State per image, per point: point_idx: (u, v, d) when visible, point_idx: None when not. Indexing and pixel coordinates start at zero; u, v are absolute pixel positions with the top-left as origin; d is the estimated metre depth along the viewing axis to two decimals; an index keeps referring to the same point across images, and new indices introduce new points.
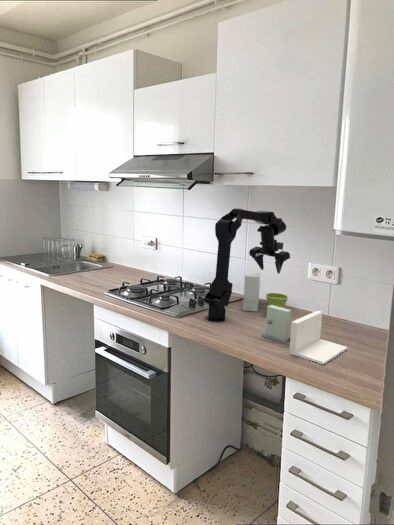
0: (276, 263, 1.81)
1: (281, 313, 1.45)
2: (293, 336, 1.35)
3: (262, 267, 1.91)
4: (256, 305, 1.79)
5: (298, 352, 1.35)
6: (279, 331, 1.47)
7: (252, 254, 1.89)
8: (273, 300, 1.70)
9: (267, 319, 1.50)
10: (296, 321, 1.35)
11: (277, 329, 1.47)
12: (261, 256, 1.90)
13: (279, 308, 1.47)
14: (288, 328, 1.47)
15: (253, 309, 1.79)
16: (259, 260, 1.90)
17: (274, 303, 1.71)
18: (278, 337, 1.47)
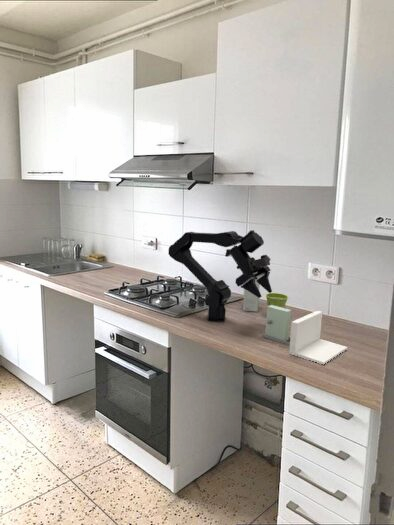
0: None
1: (281, 313, 1.45)
2: (293, 336, 1.35)
3: (268, 289, 1.58)
4: (256, 305, 1.79)
5: (298, 352, 1.35)
6: (279, 331, 1.47)
7: None
8: (273, 300, 1.70)
9: (267, 319, 1.50)
10: (296, 321, 1.35)
11: (277, 329, 1.47)
12: (263, 277, 1.59)
13: (279, 308, 1.47)
14: (288, 328, 1.47)
15: (253, 309, 1.79)
16: (261, 283, 1.60)
17: (274, 303, 1.71)
18: (278, 337, 1.47)
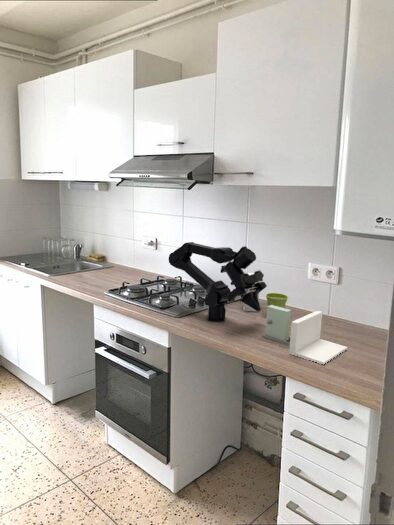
0: None
1: (281, 313, 1.45)
2: (293, 336, 1.35)
3: None
4: None
5: (298, 352, 1.35)
6: (279, 331, 1.47)
7: None
8: (273, 300, 1.70)
9: (267, 319, 1.50)
10: (296, 321, 1.35)
11: (277, 329, 1.47)
12: None
13: (279, 308, 1.47)
14: (288, 328, 1.47)
15: (253, 309, 1.79)
16: None
17: (274, 303, 1.71)
18: (278, 337, 1.47)
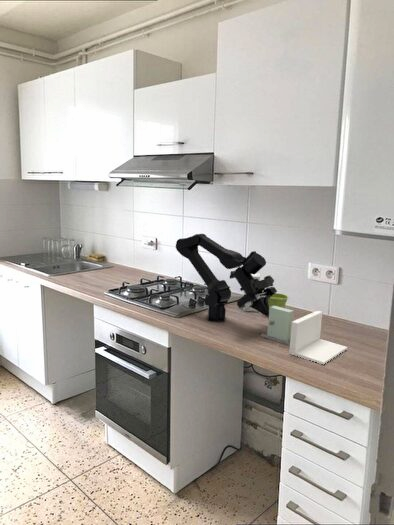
0: None
1: (283, 313, 1.45)
2: (293, 336, 1.35)
3: None
4: None
5: (298, 352, 1.35)
6: (281, 331, 1.46)
7: None
8: (273, 300, 1.70)
9: (269, 320, 1.49)
10: (296, 321, 1.35)
11: (280, 330, 1.47)
12: None
13: (281, 309, 1.47)
14: (290, 329, 1.46)
15: (253, 309, 1.79)
16: None
17: (274, 303, 1.71)
18: (280, 338, 1.47)
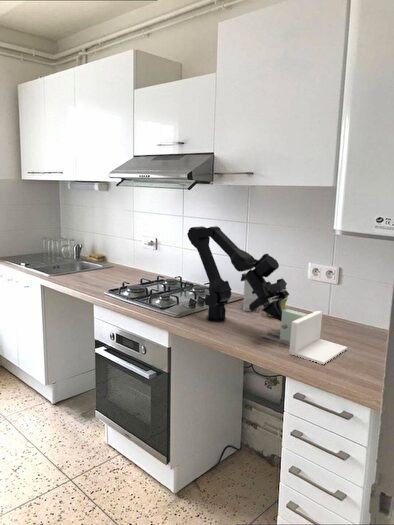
0: None
1: (297, 317, 1.41)
2: (293, 336, 1.35)
3: None
4: None
5: (298, 352, 1.35)
6: None
7: None
8: None
9: (282, 323, 1.46)
10: (296, 321, 1.35)
11: None
12: None
13: (294, 312, 1.43)
14: None
15: None
16: None
17: None
18: None
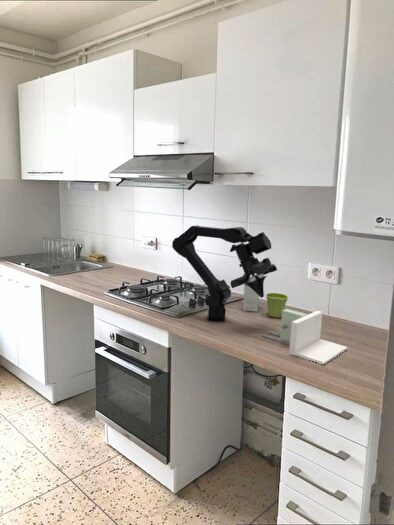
0: None
1: (297, 317, 1.41)
2: (293, 336, 1.35)
3: None
4: (256, 305, 1.79)
5: (298, 352, 1.35)
6: None
7: None
8: (273, 300, 1.70)
9: (282, 323, 1.46)
10: (296, 321, 1.35)
11: None
12: (258, 280, 1.57)
13: (294, 312, 1.43)
14: None
15: (253, 309, 1.79)
16: None
17: (274, 303, 1.71)
18: None
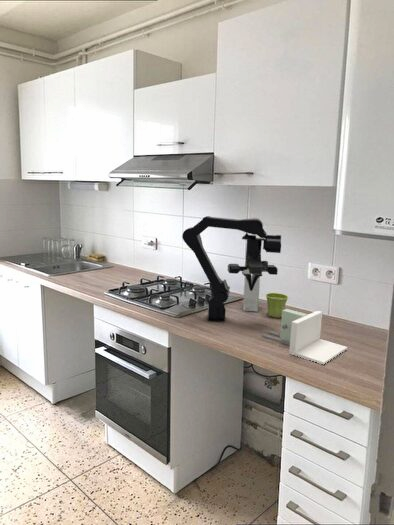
0: None
1: (297, 317, 1.41)
2: (293, 336, 1.35)
3: None
4: (256, 305, 1.79)
5: (298, 352, 1.35)
6: None
7: None
8: (273, 300, 1.71)
9: (282, 323, 1.46)
10: (296, 321, 1.35)
11: None
12: (253, 275, 1.62)
13: (294, 312, 1.43)
14: None
15: (253, 309, 1.79)
16: (252, 277, 1.64)
17: (274, 303, 1.71)
18: None
